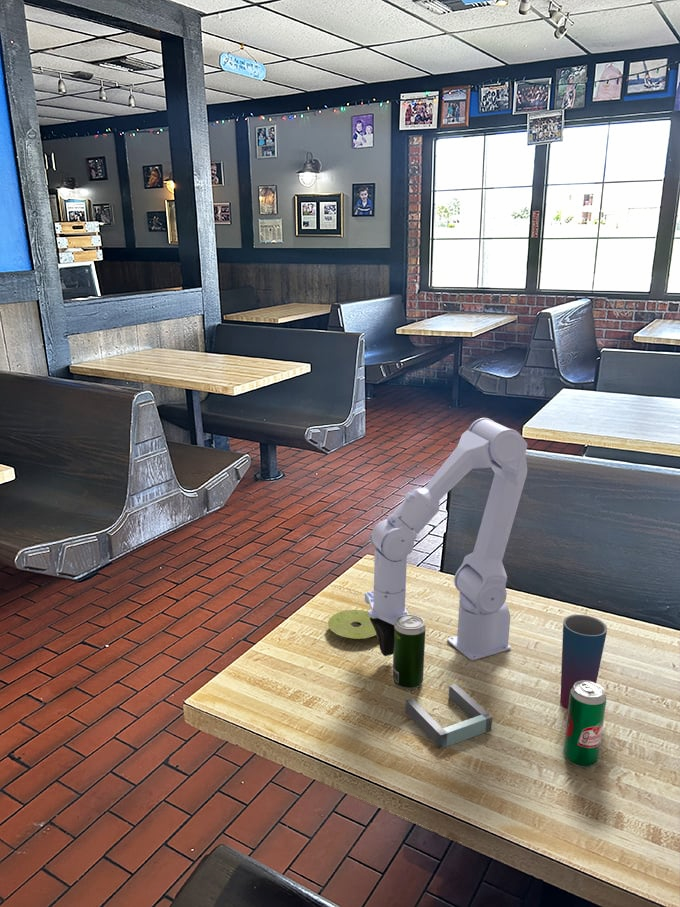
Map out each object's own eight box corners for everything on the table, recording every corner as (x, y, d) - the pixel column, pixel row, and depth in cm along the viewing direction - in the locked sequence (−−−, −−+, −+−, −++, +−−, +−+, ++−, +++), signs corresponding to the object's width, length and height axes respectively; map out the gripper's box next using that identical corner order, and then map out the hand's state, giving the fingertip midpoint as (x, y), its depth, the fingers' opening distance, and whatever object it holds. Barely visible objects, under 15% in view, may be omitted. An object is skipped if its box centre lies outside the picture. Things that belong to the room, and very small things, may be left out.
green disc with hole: (336, 614, 149) (336, 605, 148) (389, 622, 146) (389, 613, 145) (320, 641, 138) (320, 633, 138) (377, 651, 135) (377, 641, 135)
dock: (454, 696, 122) (455, 683, 121) (491, 730, 114) (492, 716, 113) (405, 712, 118) (405, 699, 117) (439, 749, 109) (440, 735, 108)
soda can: (578, 773, 105) (587, 702, 101) (555, 751, 109) (563, 683, 106) (605, 763, 106) (615, 694, 103) (581, 742, 111) (590, 675, 108)
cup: (597, 696, 122) (607, 618, 118) (597, 720, 116) (607, 639, 112) (555, 688, 124) (564, 611, 120) (553, 711, 118) (562, 631, 114)
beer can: (405, 695, 122) (407, 632, 119) (386, 679, 127) (388, 619, 123) (429, 685, 125) (432, 624, 122) (409, 670, 129) (412, 610, 126)
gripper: (350, 574, 132) (349, 639, 136) (391, 609, 119) (389, 679, 123) (383, 567, 135) (382, 630, 139) (426, 600, 122) (423, 669, 126)
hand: (387, 653), depth 131 cm, fingers closed
